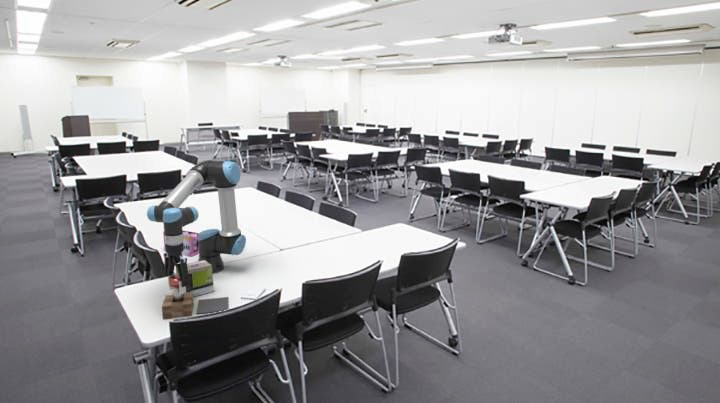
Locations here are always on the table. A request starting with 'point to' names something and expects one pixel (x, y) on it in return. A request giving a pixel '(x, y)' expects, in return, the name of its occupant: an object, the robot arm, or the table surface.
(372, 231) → the table surface
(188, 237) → the gum box
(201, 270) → the tea box
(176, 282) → the copper round-headed piece
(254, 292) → the external hard drive
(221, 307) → the rubber mat
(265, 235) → the table surface
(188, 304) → the eye block
